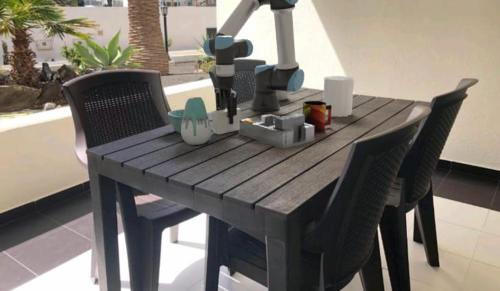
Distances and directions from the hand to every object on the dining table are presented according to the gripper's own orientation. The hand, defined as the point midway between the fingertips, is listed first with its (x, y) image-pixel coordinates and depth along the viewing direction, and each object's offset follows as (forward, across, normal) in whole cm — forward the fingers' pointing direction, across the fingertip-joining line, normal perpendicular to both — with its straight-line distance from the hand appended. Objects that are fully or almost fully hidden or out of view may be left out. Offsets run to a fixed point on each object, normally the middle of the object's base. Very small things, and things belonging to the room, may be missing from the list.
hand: (226, 129), depth 174 cm
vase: (+1, +5, -18) cm, 19 cm away
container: (+2, +7, +64) cm, 64 cm away
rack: (+1, +19, +11) cm, 22 cm away
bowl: (+1, -12, -12) cm, 17 cm away
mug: (+1, +21, +32) cm, 38 cm away
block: (0, 0, 0) cm, 1 cm away
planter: (+2, -40, +66) cm, 77 cm away
